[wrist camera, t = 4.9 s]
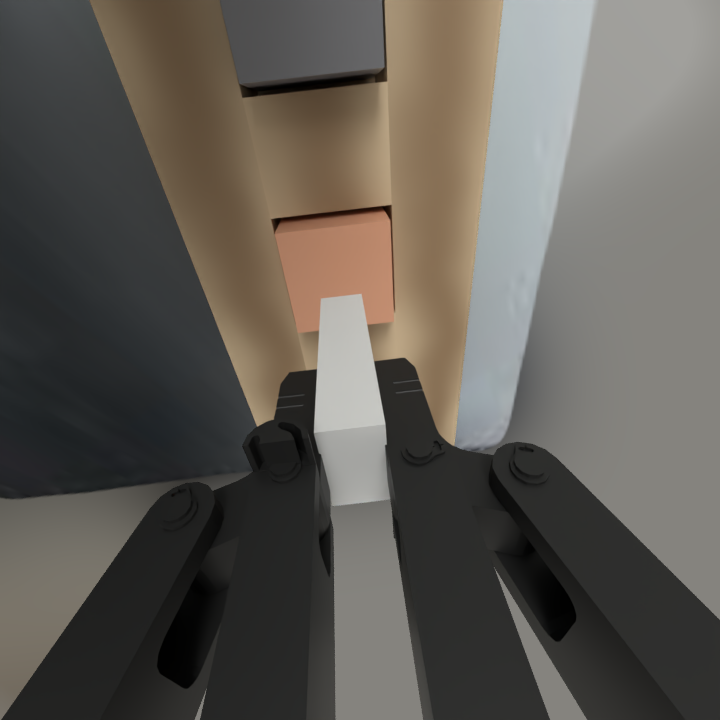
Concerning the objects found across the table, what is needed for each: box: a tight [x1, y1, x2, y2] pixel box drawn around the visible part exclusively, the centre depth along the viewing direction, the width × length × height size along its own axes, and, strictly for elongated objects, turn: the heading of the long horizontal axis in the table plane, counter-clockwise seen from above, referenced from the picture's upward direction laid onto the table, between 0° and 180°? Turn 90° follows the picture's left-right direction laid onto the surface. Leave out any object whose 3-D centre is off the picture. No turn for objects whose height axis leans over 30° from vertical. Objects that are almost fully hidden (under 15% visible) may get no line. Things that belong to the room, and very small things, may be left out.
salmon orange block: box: [275, 206, 394, 333], centre depth 18 cm, size 5×5×4 cm
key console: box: [89, 0, 503, 446], centre depth 19 cm, size 14×30×5 cm, turn 5°
